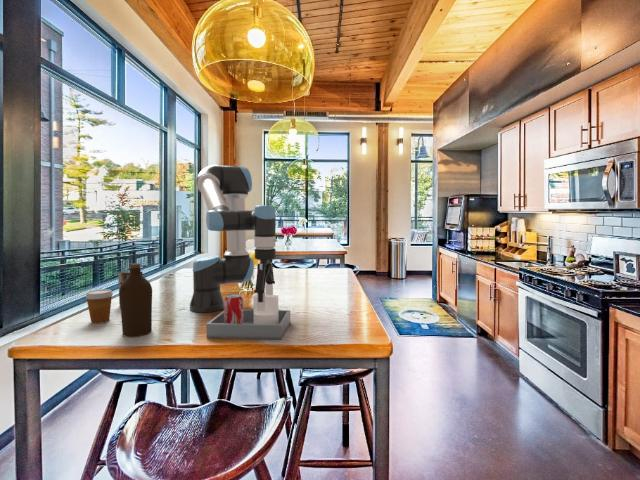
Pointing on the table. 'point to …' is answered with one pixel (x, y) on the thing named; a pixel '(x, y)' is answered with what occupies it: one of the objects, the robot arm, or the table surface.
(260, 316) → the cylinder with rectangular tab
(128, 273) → the coffee box
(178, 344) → the table surface
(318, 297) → the table surface
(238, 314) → the soda can
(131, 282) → the brown growler jug
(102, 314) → the disposable coffee cup
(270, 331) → the tote
